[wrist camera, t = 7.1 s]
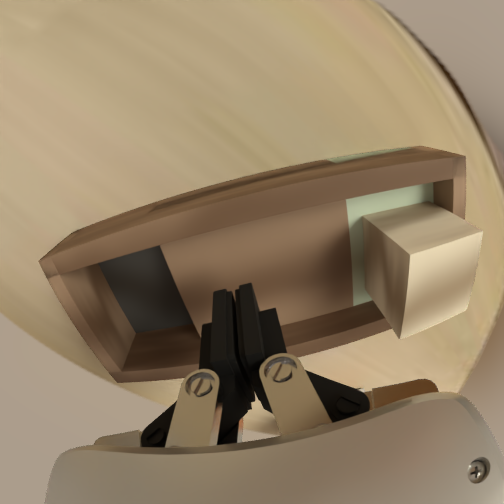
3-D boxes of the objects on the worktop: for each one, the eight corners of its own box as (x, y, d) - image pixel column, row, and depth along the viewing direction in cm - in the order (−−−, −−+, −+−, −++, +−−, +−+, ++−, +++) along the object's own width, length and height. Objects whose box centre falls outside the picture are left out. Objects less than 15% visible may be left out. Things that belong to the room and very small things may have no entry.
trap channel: (72, 232, 16) (38, 261, 12) (421, 146, 15) (465, 156, 11) (131, 342, 20) (117, 382, 16) (421, 273, 19) (451, 303, 15)
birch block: (361, 215, 14) (410, 254, 10) (428, 200, 14) (482, 230, 9) (364, 288, 16) (399, 339, 12) (425, 269, 16) (466, 309, 12)
